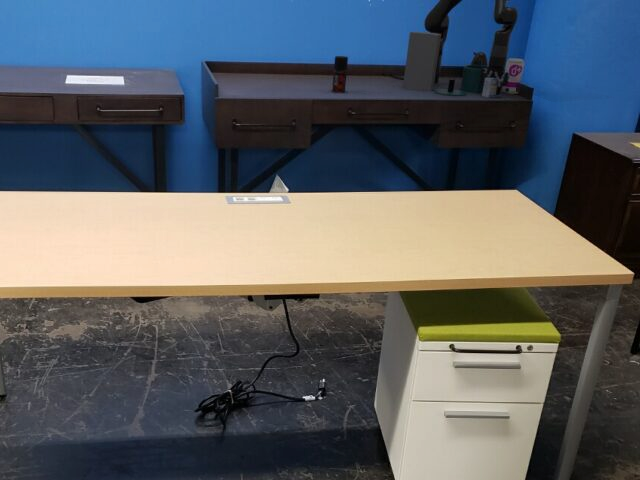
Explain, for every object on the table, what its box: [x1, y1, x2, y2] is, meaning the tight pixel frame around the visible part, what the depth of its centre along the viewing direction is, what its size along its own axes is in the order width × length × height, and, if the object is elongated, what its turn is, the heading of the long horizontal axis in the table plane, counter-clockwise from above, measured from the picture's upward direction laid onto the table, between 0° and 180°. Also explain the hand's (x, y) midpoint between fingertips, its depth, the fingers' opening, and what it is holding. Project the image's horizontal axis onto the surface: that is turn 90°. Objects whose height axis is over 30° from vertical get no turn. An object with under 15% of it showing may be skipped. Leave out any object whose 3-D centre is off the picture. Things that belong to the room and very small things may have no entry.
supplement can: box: [501, 57, 525, 95], centre depth 371 cm, size 8×8×15 cm
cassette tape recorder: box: [402, 30, 441, 92], centre depth 368 cm, size 14×6×25 cm, turn 62°
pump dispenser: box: [469, 51, 489, 66], centre depth 389 cm, size 10×10×15 cm
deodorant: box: [331, 55, 349, 94], centre depth 359 cm, size 6×6×15 cm
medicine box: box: [481, 77, 504, 98], centre depth 361 cm, size 8×4×9 cm, turn 117°
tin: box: [460, 64, 489, 94], centre depth 372 cm, size 14×14×11 cm
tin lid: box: [434, 78, 467, 97], centre depth 365 cm, size 15×15×7 cm
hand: (491, 93), depth 362 cm, fingers open, 5 cm apart
